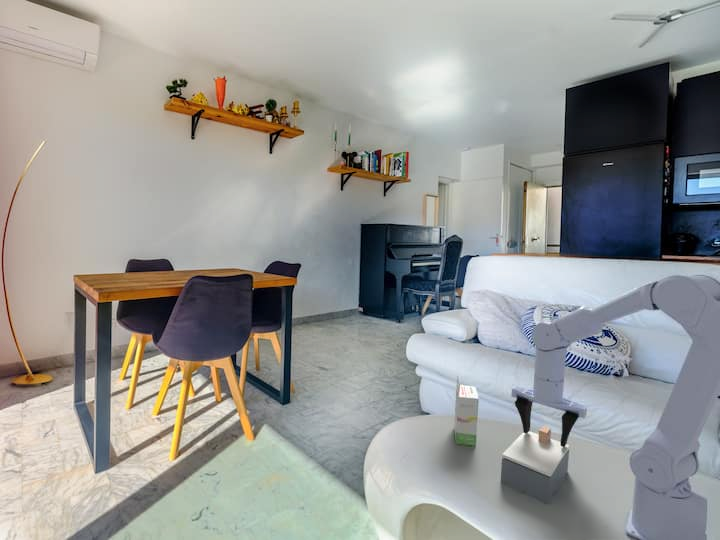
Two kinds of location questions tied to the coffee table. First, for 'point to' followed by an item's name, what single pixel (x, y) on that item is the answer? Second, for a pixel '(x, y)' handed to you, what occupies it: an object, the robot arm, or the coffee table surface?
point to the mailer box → (533, 479)
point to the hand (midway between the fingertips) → (544, 438)
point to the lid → (537, 451)
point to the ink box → (466, 414)
